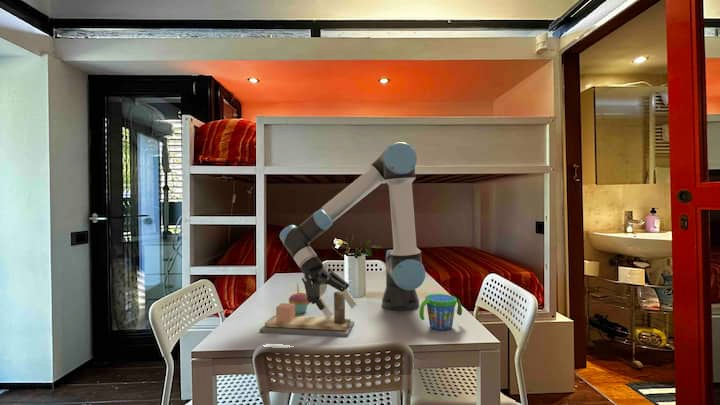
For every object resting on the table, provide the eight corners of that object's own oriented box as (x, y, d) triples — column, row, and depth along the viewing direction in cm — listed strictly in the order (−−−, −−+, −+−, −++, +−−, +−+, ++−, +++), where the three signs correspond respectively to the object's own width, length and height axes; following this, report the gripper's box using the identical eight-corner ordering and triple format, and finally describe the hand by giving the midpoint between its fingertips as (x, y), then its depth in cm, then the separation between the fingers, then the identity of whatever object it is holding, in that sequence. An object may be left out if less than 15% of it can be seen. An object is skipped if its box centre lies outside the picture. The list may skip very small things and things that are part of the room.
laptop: (301, 289, 183) (301, 262, 183) (327, 289, 182) (326, 263, 182) (291, 299, 166) (291, 270, 165) (319, 300, 164) (319, 270, 164)
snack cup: (454, 320, 135) (454, 292, 135) (469, 330, 125) (469, 300, 125) (413, 323, 132) (413, 295, 132) (425, 334, 121) (425, 303, 121)
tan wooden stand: (350, 322, 130) (350, 290, 130) (346, 330, 122) (345, 296, 122) (273, 318, 135) (273, 287, 134) (264, 326, 127) (264, 293, 126)
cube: (295, 317, 132) (295, 303, 132) (290, 322, 127) (290, 307, 127) (281, 317, 133) (281, 303, 132) (276, 321, 128) (276, 307, 127)
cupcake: (306, 315, 143) (305, 283, 142) (285, 314, 144) (284, 283, 144) (313, 308, 151) (313, 278, 151) (293, 307, 153) (293, 278, 152)
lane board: (354, 324, 132) (354, 321, 132) (347, 336, 120) (347, 333, 120) (273, 320, 137) (273, 317, 137) (259, 332, 125) (259, 329, 125)
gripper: (325, 263, 146) (357, 308, 137) (277, 275, 125) (312, 328, 117) (336, 251, 143) (369, 296, 134) (289, 260, 122) (325, 314, 114)
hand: (343, 311), depth 126 cm, fingers open, 13 cm apart
